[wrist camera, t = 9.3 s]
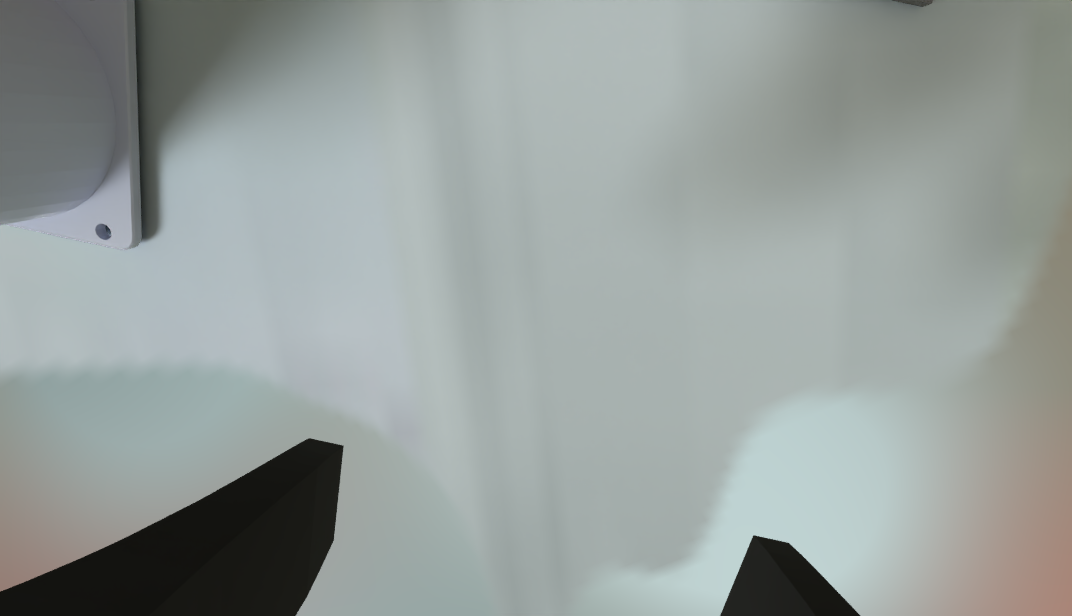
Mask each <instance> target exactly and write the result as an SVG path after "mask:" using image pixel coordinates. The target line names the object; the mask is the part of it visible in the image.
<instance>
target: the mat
mask: <svg viewBox="0 0 1072 616" xmlns="http://www.w3.org/2000/svg"><path fill="white" fill-rule="evenodd" d="M893 1H898V2H903V3H907V4H912V5H917V6H921V7H923V6H926V5H929V4H931V3H932V1H933V0H893Z"/></svg>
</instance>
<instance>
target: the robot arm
mask: <svg viewBox="0 0 1072 616" xmlns="http://www.w3.org/2000/svg"><path fill="white" fill-rule="evenodd" d="M0 225H9V226H14V227H18V228H23V229H27V230H32V231H37V232H41V233H46V234H50V235H55V236H60V237H64V238H69V239H73V240H78V241H83V242H87V243H92V244H96V245H101V246H106V247H110V248H115V249H119V250H127V249H131V248H134V247H136V246H138V245H139V243H140V242H141V238H142V228H141V196H140V164H139V131H138V99H137V67H136V35H135V2H134V0H0ZM106 225H107V226H108V227H109V229H110V230H111V236H109V234H108V233H107V232H106V229H105V227H106ZM342 455H343V446H342V445H338V444H333V443H328V442H324V441H319V440H315V439H307V440H305V441H303V442H301V443H299V444H298V445H296V446H294V447H292V448H291V449H289V450H287V451H285V452H284V453H282V454H280V455H278V456H277V457H275V458H273V459H272V460H270V461H268V462H266V463H265V464H263V465H261V466H259V467H258V468H256V469H254V470H252V471H251V472H249V473H247V474H245V475H244V476H242V477H240V478H238V479H237V480H235V481H233V482H231V483H229V484H228V485H226V486H224V487H222V488H220V489H219V490H217V491H216V492H213V493H212V494H210V495H208V496H206V497H204V498H203V499H201V500H199V501H197V502H195V503H193V504H191V505H190V506H187V507H185V508H183V509H181V510H179V511H177V512H175V513H173V514H172V515H169V516H167V517H166V518H164V519H162V520H160V521H158V522H156V523H154V524H152V525H150V526H148V527H146V528H144V529H142V530H140V531H138V532H136V533H134V534H132V535H130V536H128V537H126V538H124V539H122V540H120V541H118V542H115V543H114V544H111V545H109V546H107V547H105V548H103V549H100V550H98V551H96V552H94V553H91V554H89V555H87V556H85V557H83V558H81V559H78V560H76V561H73V562H71V563H69V564H66V565H64V566H62V567H59V568H57V569H55V570H53V571H50V572H47V573H45V574H43V575H40V576H38V577H36V578H34V579H31V580H29V581H26V582H24V583H21V584H19V585H16V586H14V587H12V588H9V589H6V590H3V591H1V592H0V616H295V615H296V614H297V612H298V611H299V609H300V607H301V606H302V604H303V602H304V601H305V599H306V597H307V595H308V593H309V591H310V589H311V587H312V585H313V583H314V581H315V579H316V577H317V575H318V573H319V571H320V569H321V566H322V564H323V562H324V560H325V558H326V556H327V553H328V551H329V549H330V547H331V545H332V543H333V541H334V531H335V522H336V512H337V502H338V493H339V484H340V474H341V464H342ZM721 616H860V615H859V614H858V613H857V612H856V611H855V610H854V609H853V608H852V607H851V605H849V603H848V602H847V601H846V600H845V599H844V598H843V597H842V596H841V595H840V594H839V593H838V592H837V591H836V590H835V589H834V588H833V587H832V586H831V585H830V584H829V583H828V581H827V580H826V579H825V578H824V577H823V576H822V575H821V574H820V573H819V572H818V571H817V570H816V569H815V568H814V567H813V566H812V565H811V564H810V563H809V562H808V561H807V560H806V559H805V558H804V557H803V556H802V555H801V554H800V553H799V552H798V551H797V550H796V549H794V548H793V547H792V546H791V545H790V544H789V543H786V542H782V541H777V540H773V539H768V538H763V537H759V536H753V538H752V540H751V543H750V545H749V548H748V550H747V553H746V555H745V557H744V560H743V562H742V565H741V567H740V569H739V572H738V574H737V577H736V579H735V581H734V584H733V586H732V589H731V591H730V593H729V596H728V598H727V601H726V603H725V606H724V608H723V611H722V613H721Z"/></svg>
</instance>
